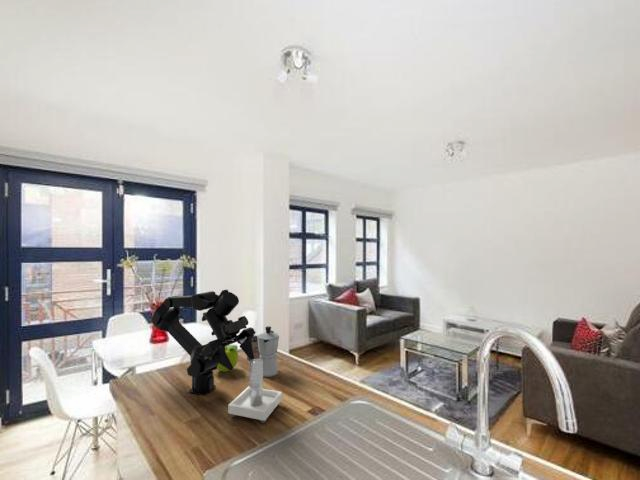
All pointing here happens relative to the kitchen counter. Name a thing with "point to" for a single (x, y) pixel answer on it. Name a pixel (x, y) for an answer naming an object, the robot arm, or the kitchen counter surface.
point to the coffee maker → (268, 352)
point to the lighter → (255, 348)
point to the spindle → (256, 382)
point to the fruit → (232, 357)
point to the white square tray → (259, 412)
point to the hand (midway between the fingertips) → (243, 364)
